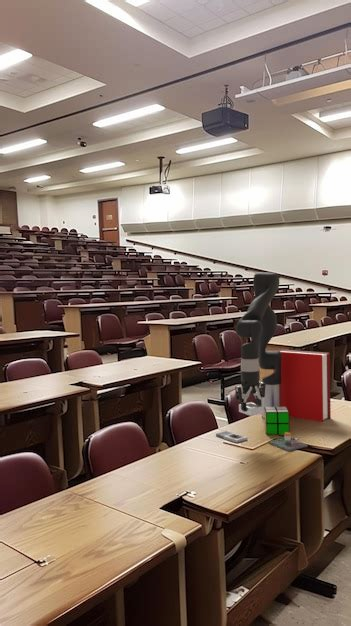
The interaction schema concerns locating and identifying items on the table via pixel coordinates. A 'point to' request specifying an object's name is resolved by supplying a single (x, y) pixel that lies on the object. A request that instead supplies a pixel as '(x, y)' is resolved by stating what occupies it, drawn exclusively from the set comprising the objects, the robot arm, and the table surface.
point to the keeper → (287, 443)
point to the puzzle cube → (276, 420)
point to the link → (252, 409)
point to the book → (306, 384)
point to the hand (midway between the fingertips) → (251, 409)
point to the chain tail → (229, 436)
